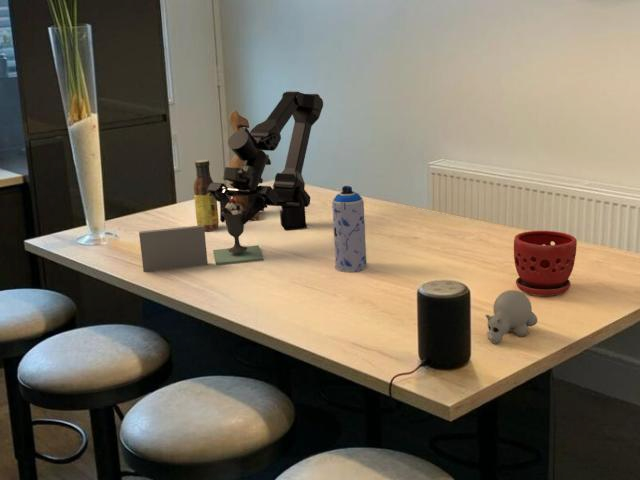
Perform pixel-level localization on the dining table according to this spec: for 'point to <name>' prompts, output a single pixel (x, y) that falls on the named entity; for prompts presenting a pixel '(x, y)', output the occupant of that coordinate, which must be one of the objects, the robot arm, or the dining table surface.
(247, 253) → the rubber mat
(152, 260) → the partition board
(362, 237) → the aerosol can
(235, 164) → the bird sculpture
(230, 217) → the sundae
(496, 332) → the chubby cartoon animal
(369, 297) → the dining table surface
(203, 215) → the sauce bottle
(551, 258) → the plant pot
